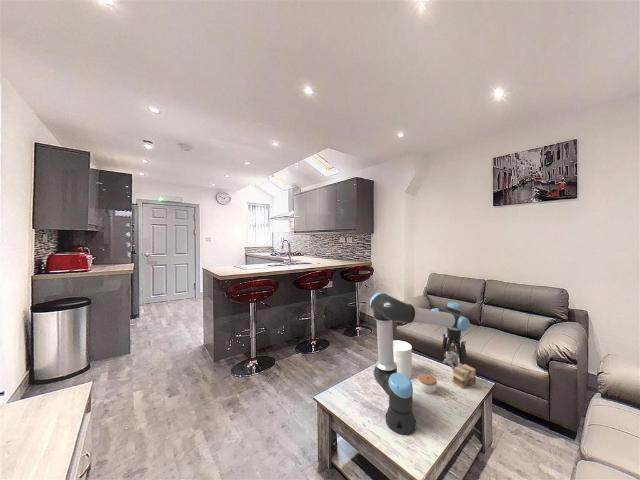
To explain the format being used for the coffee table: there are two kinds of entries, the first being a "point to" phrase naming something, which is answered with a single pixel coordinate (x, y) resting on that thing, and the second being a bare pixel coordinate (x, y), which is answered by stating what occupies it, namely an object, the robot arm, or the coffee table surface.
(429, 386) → the lidded jar
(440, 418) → the coffee table surface
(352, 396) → the coffee table surface
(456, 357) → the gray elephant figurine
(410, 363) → the canister
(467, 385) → the tower base
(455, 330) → the robot arm
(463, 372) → the light wooden block
